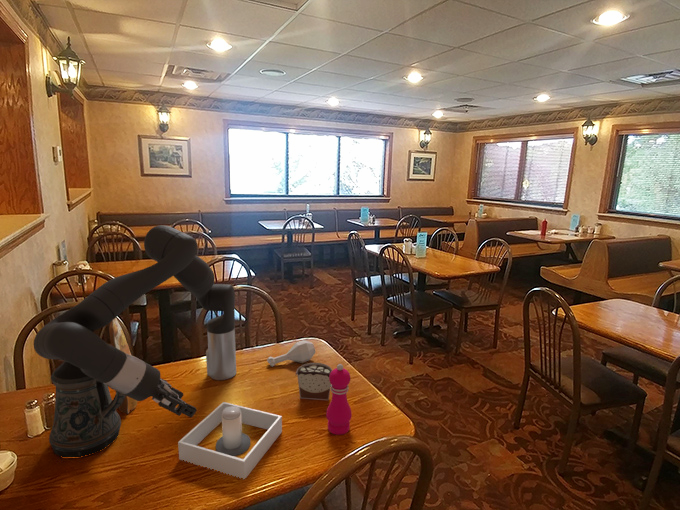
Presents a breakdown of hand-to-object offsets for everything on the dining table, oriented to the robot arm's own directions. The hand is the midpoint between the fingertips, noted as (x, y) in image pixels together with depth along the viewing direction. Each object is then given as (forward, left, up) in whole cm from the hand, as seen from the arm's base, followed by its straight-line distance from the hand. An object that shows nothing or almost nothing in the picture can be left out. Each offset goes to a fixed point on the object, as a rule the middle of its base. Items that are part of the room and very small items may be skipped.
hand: (187, 404), depth 99 cm
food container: (+17, +41, -17) cm, 47 cm away
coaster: (+6, +10, -17) cm, 20 cm away
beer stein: (-31, -1, -17) cm, 36 cm away
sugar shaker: (+5, +10, -16) cm, 20 cm away
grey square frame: (+6, +10, -17) cm, 20 cm away
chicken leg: (-1, +58, -17) cm, 60 cm away
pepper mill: (+30, +27, -17) cm, 43 cm away
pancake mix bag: (-37, +16, -17) cm, 44 cm away
